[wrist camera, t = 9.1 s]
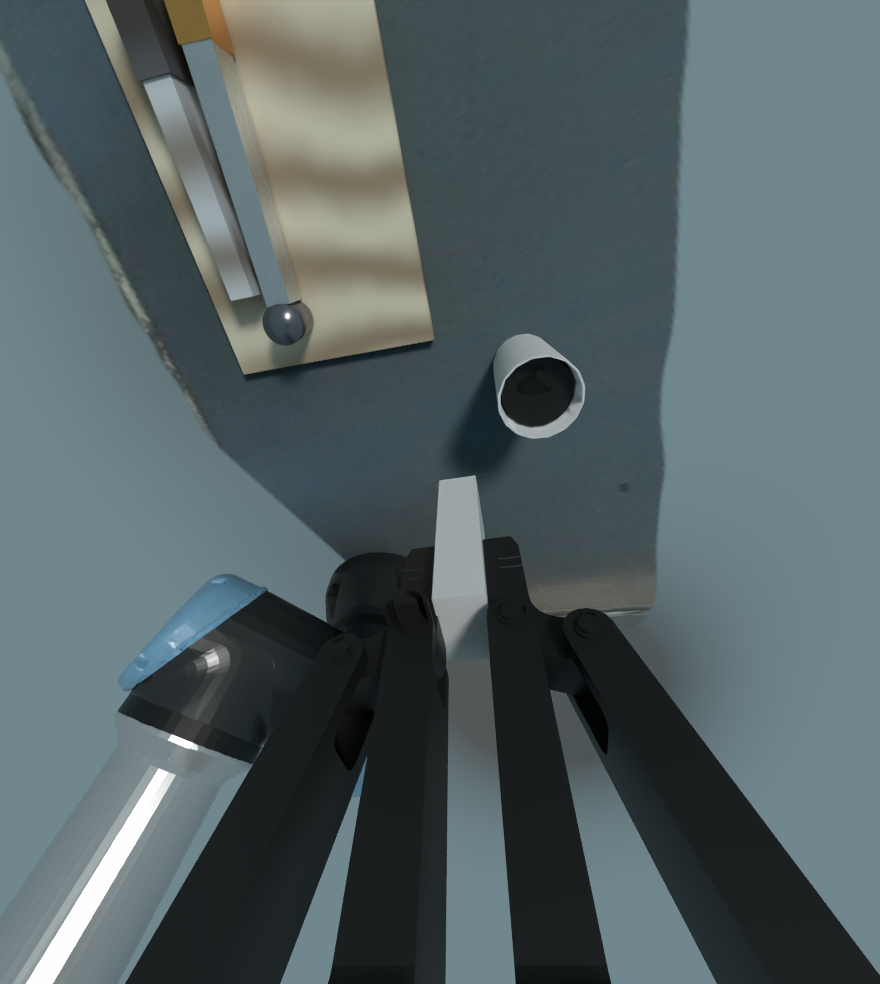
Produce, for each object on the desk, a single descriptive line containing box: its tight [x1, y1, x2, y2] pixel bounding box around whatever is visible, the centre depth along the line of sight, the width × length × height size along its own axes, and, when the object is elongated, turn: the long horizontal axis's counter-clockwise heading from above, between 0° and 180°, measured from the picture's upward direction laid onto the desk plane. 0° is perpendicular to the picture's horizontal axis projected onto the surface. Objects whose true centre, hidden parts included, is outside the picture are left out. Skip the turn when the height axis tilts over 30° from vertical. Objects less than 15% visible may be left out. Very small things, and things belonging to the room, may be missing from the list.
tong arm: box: [164, 0, 314, 346], centre depth 31 cm, size 24×3×4 cm, turn 8°
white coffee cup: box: [493, 334, 585, 439], centre depth 36 cm, size 7×7×10 cm
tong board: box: [85, 0, 434, 374], centre depth 32 cm, size 27×19×4 cm
